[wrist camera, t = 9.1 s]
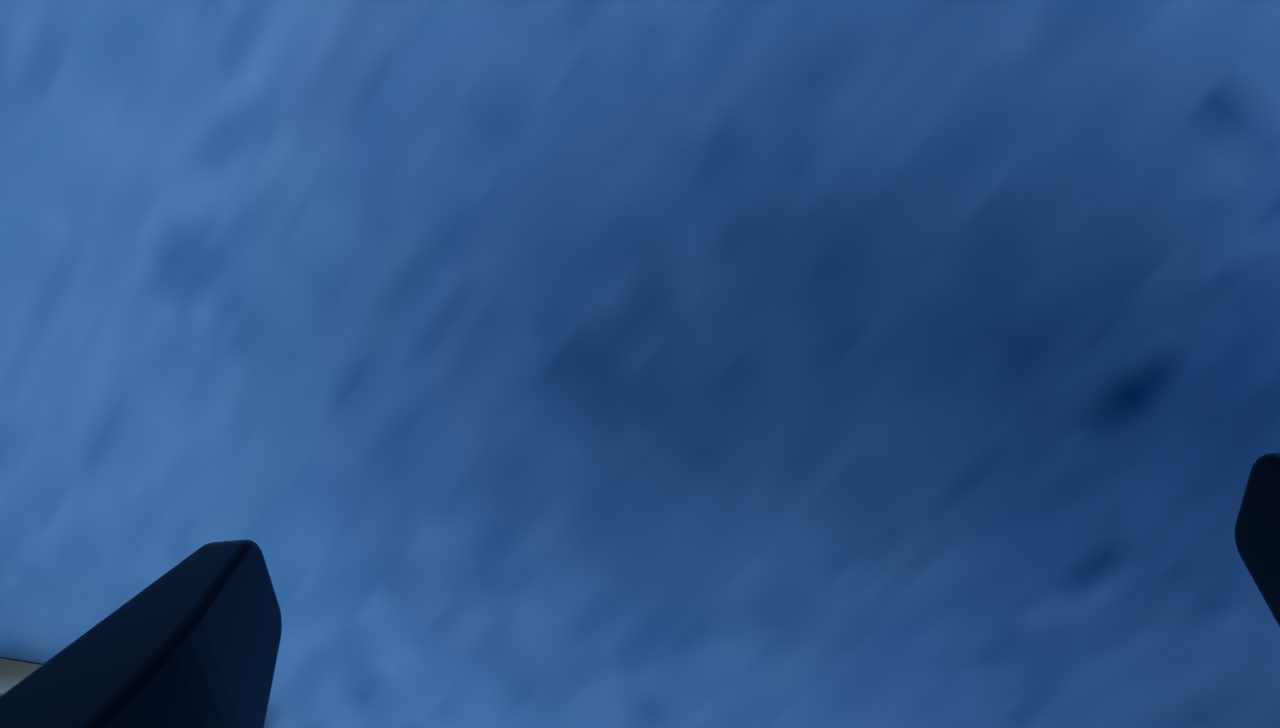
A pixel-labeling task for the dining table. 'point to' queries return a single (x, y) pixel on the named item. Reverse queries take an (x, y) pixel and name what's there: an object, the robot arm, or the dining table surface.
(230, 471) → the dining table surface
